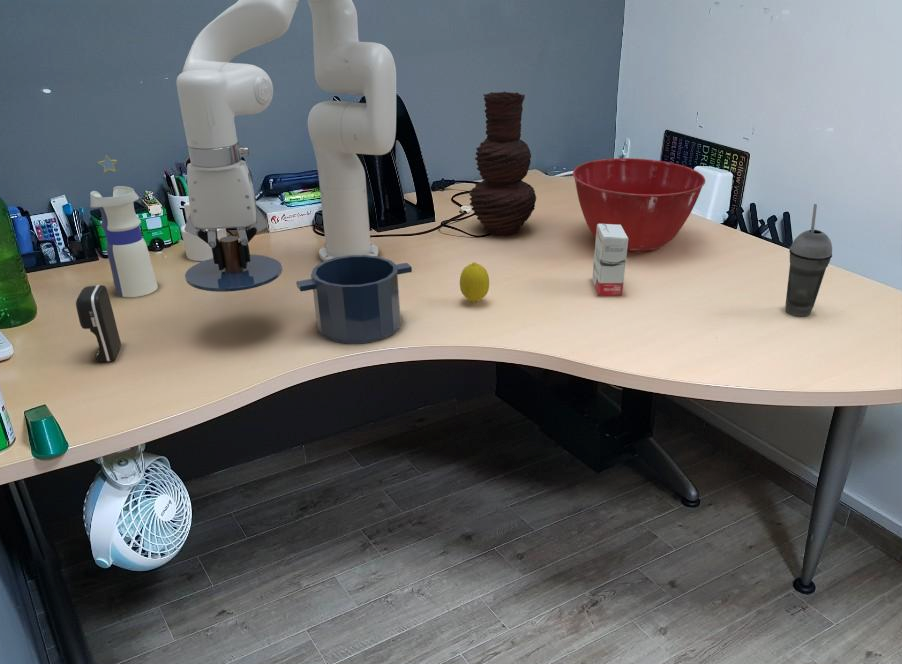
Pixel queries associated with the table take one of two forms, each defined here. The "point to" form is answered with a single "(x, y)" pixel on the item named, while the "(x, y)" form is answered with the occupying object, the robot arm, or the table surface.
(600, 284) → the ink box
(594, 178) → the mixing bowl
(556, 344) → the table surface
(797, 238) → the beverage cup
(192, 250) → the cylinder with rectangular tab
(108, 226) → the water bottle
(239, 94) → the robot arm
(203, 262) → the pot lid
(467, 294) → the lemon
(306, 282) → the pot
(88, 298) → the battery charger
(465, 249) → the table surface
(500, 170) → the vase
